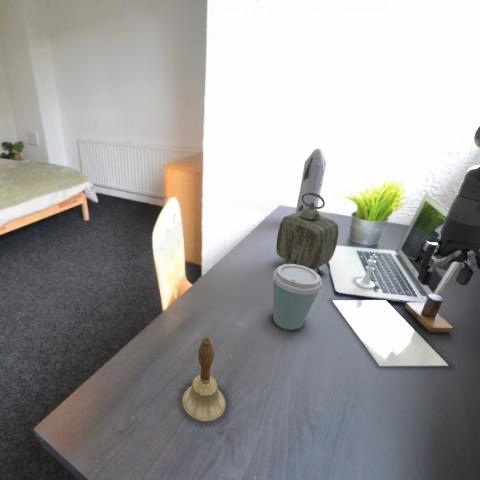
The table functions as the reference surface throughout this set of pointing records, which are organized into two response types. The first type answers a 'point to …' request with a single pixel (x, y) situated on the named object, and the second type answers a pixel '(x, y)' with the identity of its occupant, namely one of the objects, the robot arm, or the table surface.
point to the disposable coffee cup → (294, 294)
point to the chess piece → (368, 274)
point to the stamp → (429, 314)
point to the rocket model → (312, 179)
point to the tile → (387, 334)
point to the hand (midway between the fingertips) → (441, 283)
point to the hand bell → (204, 389)
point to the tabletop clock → (307, 237)
